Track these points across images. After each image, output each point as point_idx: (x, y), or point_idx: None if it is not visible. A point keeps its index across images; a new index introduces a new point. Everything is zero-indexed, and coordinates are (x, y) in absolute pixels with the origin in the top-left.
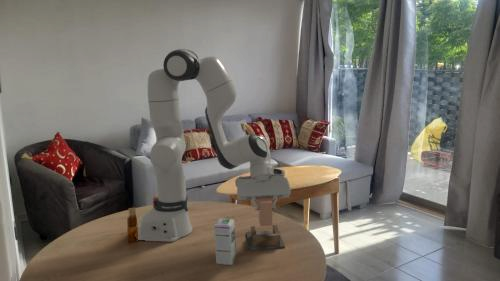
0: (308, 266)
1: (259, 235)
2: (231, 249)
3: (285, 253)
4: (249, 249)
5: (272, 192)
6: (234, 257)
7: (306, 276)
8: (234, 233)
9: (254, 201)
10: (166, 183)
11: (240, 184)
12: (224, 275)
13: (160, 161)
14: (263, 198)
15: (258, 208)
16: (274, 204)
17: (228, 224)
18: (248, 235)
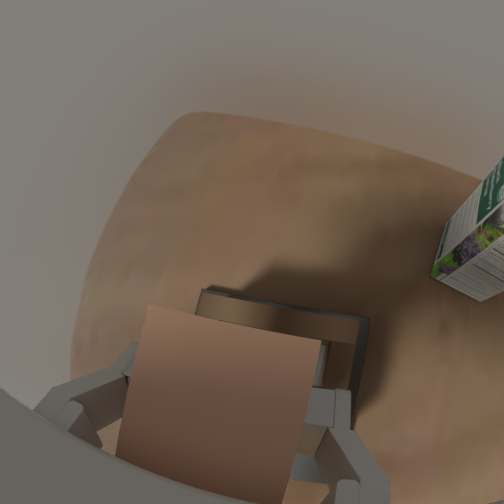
0: (187, 152)
1: (318, 325)
2: (473, 192)
3: (221, 246)
4: (367, 319)
5: (43, 450)
6: (442, 245)
7: (221, 113)
8: (489, 213)
9: (356, 459)
10: None
11: None
12: (463, 177)
13: None
14: (206, 484)
15: (317, 386)
16: (125, 360)
17: None
18: None
